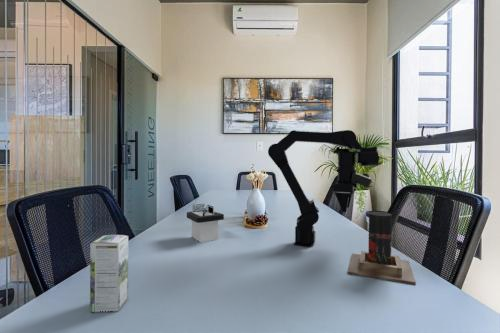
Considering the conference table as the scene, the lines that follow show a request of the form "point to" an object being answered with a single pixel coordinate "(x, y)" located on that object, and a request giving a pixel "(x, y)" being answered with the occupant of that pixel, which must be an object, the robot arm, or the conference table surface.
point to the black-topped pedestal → (204, 223)
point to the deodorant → (380, 238)
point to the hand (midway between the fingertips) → (345, 209)
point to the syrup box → (108, 273)
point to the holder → (381, 269)
